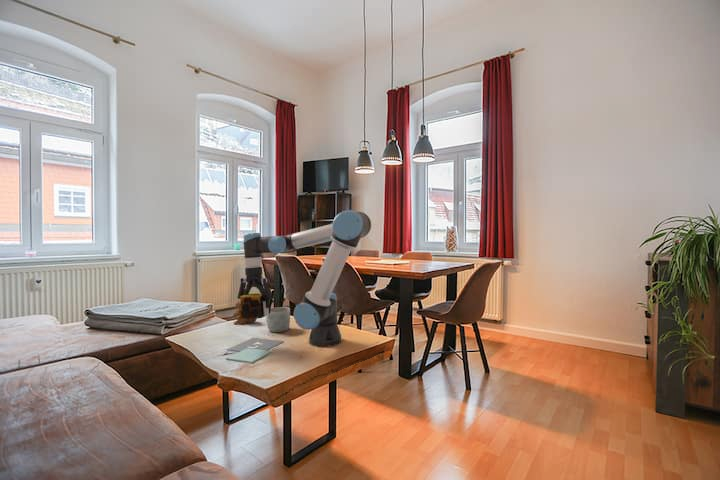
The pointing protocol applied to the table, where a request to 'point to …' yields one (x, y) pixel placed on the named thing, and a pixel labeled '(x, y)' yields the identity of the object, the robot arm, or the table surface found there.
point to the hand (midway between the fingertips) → (256, 314)
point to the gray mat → (256, 344)
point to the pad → (249, 355)
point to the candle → (252, 306)
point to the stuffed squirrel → (238, 313)
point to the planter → (278, 319)
